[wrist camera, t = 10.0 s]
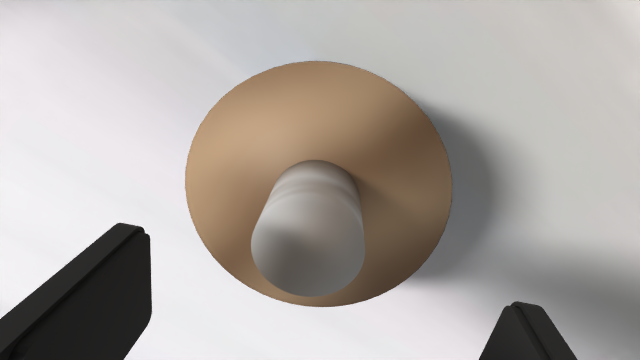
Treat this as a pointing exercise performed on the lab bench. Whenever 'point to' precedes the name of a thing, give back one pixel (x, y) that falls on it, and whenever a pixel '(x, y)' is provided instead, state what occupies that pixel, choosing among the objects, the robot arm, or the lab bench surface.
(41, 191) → the lab bench surface
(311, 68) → the lid
